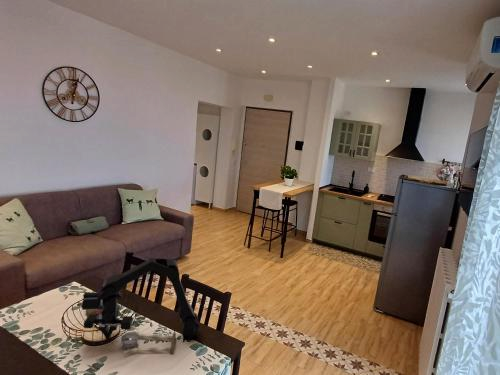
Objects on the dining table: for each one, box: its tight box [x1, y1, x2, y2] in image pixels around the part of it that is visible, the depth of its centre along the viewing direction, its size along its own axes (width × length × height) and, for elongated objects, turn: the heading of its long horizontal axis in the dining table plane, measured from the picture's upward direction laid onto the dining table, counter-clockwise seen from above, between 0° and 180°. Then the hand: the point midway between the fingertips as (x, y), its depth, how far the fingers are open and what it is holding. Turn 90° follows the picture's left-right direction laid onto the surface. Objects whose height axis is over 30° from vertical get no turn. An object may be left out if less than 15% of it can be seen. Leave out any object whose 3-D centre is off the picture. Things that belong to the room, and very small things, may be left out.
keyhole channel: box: [123, 330, 177, 357], centre depth 143 cm, size 20×14×3 cm
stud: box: [120, 331, 139, 350], centre depth 141 cm, size 7×7×4 cm
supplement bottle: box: [95, 301, 103, 325], centre depth 152 cm, size 6×6×11 cm
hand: (108, 339), depth 140 cm, fingers closed
